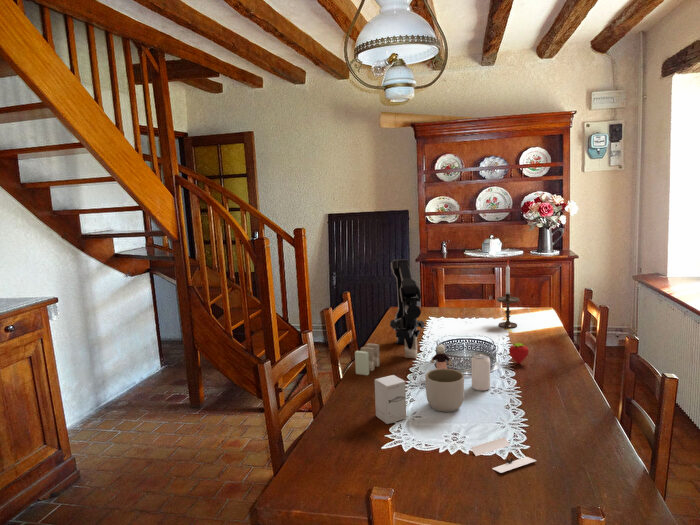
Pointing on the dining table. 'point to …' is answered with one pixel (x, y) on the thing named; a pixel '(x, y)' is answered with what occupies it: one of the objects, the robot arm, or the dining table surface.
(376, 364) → the domino
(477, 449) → the pale pink flat slab
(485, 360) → the can
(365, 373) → the sage end domino
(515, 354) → the strawberry
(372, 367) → the domino
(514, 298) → the candlestick
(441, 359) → the grandmother figurine
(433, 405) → the planter
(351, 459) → the dining table surface
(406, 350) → the domino
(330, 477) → the dining table surface
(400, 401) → the supplement box
